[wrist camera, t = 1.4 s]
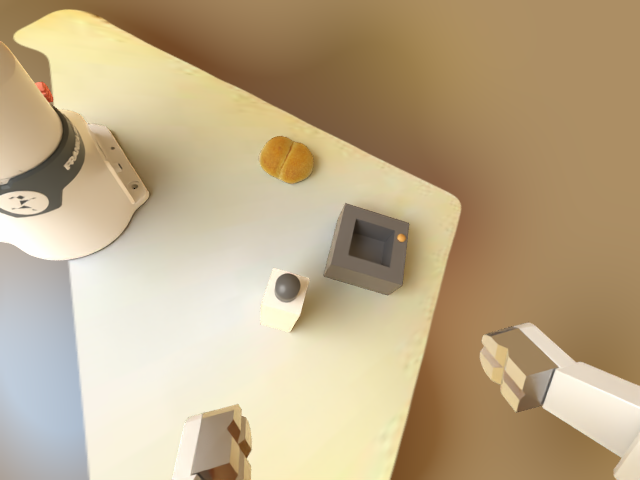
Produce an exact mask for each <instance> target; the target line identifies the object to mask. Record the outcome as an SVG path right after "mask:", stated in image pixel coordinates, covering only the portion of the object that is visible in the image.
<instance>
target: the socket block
mask: <svg viewBox="0 0 640 480" xmlns="http://www.w3.org/2000/svg"><path fill="white" fill-rule="evenodd" d="M408 230H409V223H407V222H404V221H400V220H397V219H394V218H391V217H388V216H384V215H381V214H378V213H375V212H372V211H369V210H365V209H362V208H359V207H356V206H353V205H349V204H346V203H345V205H344V207H343V209H342V211H341V214H340V216H339V218H338V220H337V224H336V228H335V232H334V236H333V240H332V244H331V248H330V252H329V256H328V260H327V264H326V268H325V272H324V277H328V278H331V279H334V280H338V281H341V282H344V283H348V284H351V285H355V286H358V287H361V288H365V289H368V290H371V291H375V292H378V293H381V294H385V295H389V294H391V293H392V292H393V291H395V290H396V289H398V288H399V287H401V286H402V284H403V275H404V266H405V257H406V248H407V239H408Z"/></svg>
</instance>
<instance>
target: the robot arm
mask: <svg viewBox="0 0 640 480" xmlns="http://www.w3.org/2000/svg"><path fill="white" fill-rule="evenodd" d="M49 102H53V97H52V94H51V92H50V90H49V89H48V87H47V86H46V85H45V83H43V82H38V83H34V82H33V80H32V79H31V78H30V77H29V75H28V74H27V72H26V71H25V70H24V68H23V67H22V66H21V64H20V63H19V61H18V60H17V59H16V57H15V56H14V55H13V53H12V52H11V51H10V49H9V48H8V47H7V46H6V45H5V44H4V43H3V42H2V41H1V40H0V242H5V243H11V244H13V245H15V246H17V247H18V248H20V249H21V250H23V251H24V252H26V253H28V254H30V255H32V256H35V257H38V258H41V259H47V260H69V259H75V258H80V257H83V256H86V255H89V254H92V253H94V252H96V251H98V250H100V249H102V248H104V247H105V246H107V245H109V244H110V243H111V242H113V241H114V240H115V239H116V238H117V237H118V236H119V235H120V234H121V233H122V232H123V231H124V229H125V228H126V227H127V225H128V223H129V221H130V219H131V217H132V215H133V213H134V212H135V210H136V209H138V208H139V207H140V206H141V205H142V204H143V203H144V202H145V201H146V200H147V199H148V197H149V192H148V190H147V188H146V187H145V185H144V184H143V182H142V180H141V179H140V177H139V176H138V174H137V172H136V171H135V169H134V168H133V166H132V165H131V163H130V161H129V160H128V158H127V157H126V155H125V153H124V152H123V150H122V149H121V147H120V145H119V144H118V142H117V141H116V139H115V138H114V136H113V134H112V133H111V132H110V130H109V129H108V128H107V127H105V126H102V125H97V124H87V123H86V121H85V120H84V118H83V117H82V116H81V115H80V114H78V113H76V112H73V111H69V110H60V109H57V108H55V107H54V106H53V105H51V104H49ZM135 187H138V188H136V189H134V188H135ZM482 343H483V345H484V348H483V349H482V350H481V351H480V360H481V364H482V367H483V369H484V370H485V372H486V374H487V375H488V376H489V378H490V379H491V380H492V381H494V382H496V383H497V384H499V385H500V388H501V394H502V395H503V396H504V398H505V399H506V400H507V402H508V403H509V404H510V405H511V407H512V408H513V409H514V411H515V412H516V413H517V412H521V411H524V410H528V409H532V408H536V407H539V406H543V408H544V409H546V410H547V411H549V412H550V413H552V414H553V415H555V416H557V417H558V418H560V419H561V420H563V421H564V422H566V423H568V424H569V425H571V426H572V427H574V428H575V429H577V430H579V431H580V432H582V433H583V434H585V435H587V436H589V437H590V438H591V439H593V440H594V441H596V442H598V443H599V444H601V445H602V446H604V447H605V448H607V449H609V450H610V451H612V452H613V453H615V454H616V455H618V456H620V457H621V460H620V461H619V463H618V464H617V466H616V468H615V469H614V477H615V478H616V479H617V480H640V386H638V385H636V384H634V383H631V382H629V381H626V380H624V379H622V378H619V377H617V376H614V375H612V374H609V373H607V372H605V371H602V370H600V369H597V368H595V367H593V366H590V365H588V364H585V363H583V362H577V363H576V362H575V361H574V360H573V359H572V358H571V357H569V356H568V355H567V354H566V353H565V352H564V351H563V350H562V349H560V348H559V347H558V346H557V345H556V344H555V343H554V342H553V341H552V340H550V339H549V338H548V337H547V336H546V335H545V334H544V333H543V332H541V331H540V330H539V329H538V328H537V327H536V326H535V325H533V324H531V323H523V324H520V325H516V326H513V327H512V326H511V327H508V328H504V329H501V330H498V331H495V332H491V333H488V334H485V335H484V336H483V337H482ZM241 413H242V409H241V408H240V406H239V405H238V404H236V405H232V406H228V407H224V408H221V409H217V410H213V411H209V412H205V413H201V414H198V415H194V416H191V417H188V418H187V420H186V422H185V424H184V428H183V432H182V437H181V441H180V446H179V450H178V455H177V459H176V464H175V468H174V473H173V478H172V480H251V465H250V464H249V462H248V460H247V457H248V455H249V453H250V451H251V448H252V439H251V430H250V426H249V423H248V420H247V419H246V417H243V416H241Z"/></svg>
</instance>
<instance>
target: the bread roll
mask: <svg viewBox="0 0 640 480" xmlns="http://www.w3.org/2000/svg"><path fill="white" fill-rule="evenodd" d="M258 160H259V162H260V164H261V167H262V168H263V170H264V171H265V172H266V173H268V174H269V175H271V176H273V177H275V178H278V179H280V180H282V181H284V182H286V183H290V184H294V183H297V182H299V181H302V180H304V179H306V178H307V177H308V176H309V175H310V174H311V172H312V169H313V165H314V161H313V156H312V154H311V152H310V151H309V149H308V148H307V147H306V146H305V145H303V144H301V143H298V142H293V141H292V140H290V139H289V138H287V137H283V136H277V137H274V138H272V139H271V140H270V141H268V142H267V143H266V145H265V146H264V147H263V149H262V150H261V152H260V154H259V157H258Z"/></svg>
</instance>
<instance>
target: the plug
mask: <svg viewBox="0 0 640 480" xmlns="http://www.w3.org/2000/svg"><path fill="white" fill-rule="evenodd" d="M309 280H310V278H307V277H303V276H300V275H296V274H293V273H290V272H286V271H283V270H280V269H276V268H273V270H272V273H271V276H270V279H269V282H268V285H267V288H266V291H265V294H264V297H263V300H262V303H261V316H260V324H261V325H264V326H268V327H272V328H275V329H279V330H282V331H286V332H289V333H290V331H291V329H292V328H293V326H294V324H295V323H296V321H297V319H298V318H299V316H300V313H301V310H302V306H303V302H304V299H305V295H306V291H307V288H308V284H309Z"/></svg>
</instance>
